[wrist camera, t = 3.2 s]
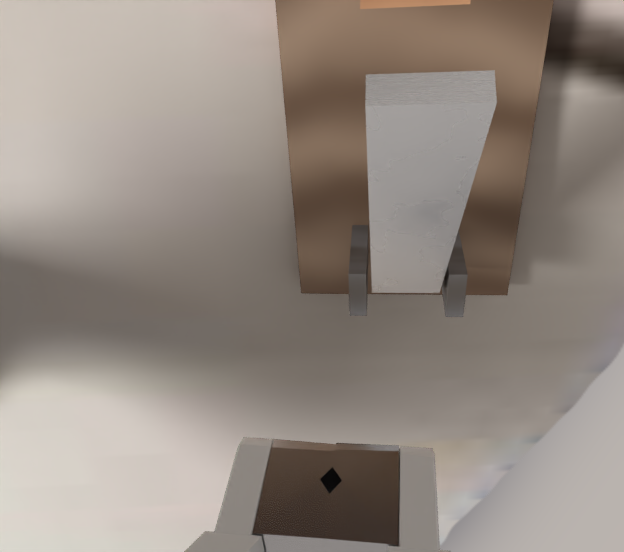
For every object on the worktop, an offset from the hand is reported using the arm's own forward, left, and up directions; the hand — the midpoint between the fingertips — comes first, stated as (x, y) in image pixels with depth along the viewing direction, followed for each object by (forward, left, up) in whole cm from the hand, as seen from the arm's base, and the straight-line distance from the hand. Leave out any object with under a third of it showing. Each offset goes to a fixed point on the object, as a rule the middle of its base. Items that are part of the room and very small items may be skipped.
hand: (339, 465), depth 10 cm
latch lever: (-4, -4, -19) cm, 19 cm away
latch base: (-3, -3, -29) cm, 29 cm away
